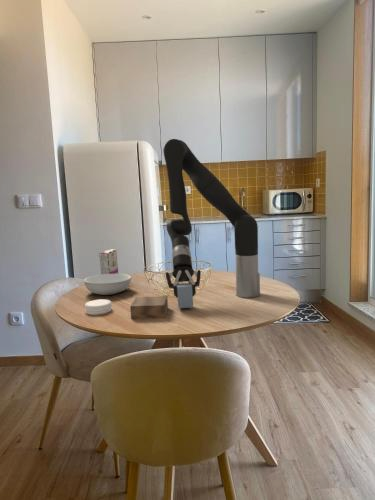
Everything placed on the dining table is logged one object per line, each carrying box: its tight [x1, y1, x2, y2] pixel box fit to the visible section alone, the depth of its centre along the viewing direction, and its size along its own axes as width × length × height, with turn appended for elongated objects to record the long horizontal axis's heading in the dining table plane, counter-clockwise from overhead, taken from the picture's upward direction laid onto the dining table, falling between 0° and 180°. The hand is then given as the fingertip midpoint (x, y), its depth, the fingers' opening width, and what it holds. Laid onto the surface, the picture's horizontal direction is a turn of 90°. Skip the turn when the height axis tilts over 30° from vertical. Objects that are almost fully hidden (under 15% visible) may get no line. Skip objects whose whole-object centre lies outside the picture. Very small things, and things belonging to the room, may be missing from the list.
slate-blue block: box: [177, 282, 194, 309], centre depth 146 cm, size 6×6×8 cm
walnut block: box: [130, 295, 169, 320], centre depth 143 cm, size 12×12×5 cm
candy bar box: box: [98, 248, 119, 275], centre depth 195 cm, size 11×5×16 cm, turn 168°
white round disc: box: [84, 298, 113, 316], centre depth 149 cm, size 10×10×4 cm
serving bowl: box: [83, 273, 132, 296], centre depth 176 cm, size 21×21×7 cm
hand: (185, 295), depth 145 cm, fingers closed on slate-blue block, 5 cm apart
